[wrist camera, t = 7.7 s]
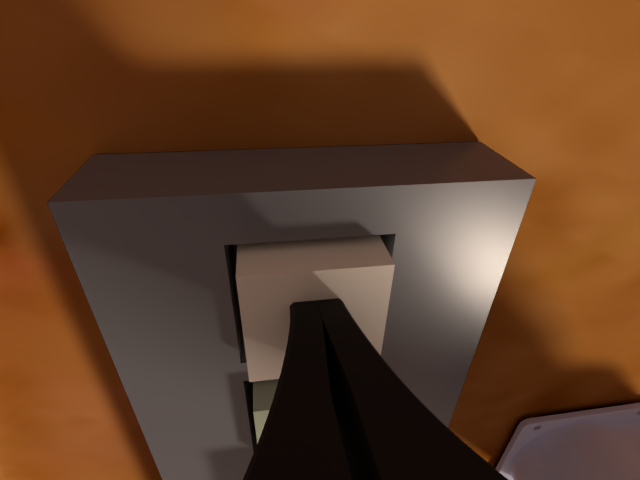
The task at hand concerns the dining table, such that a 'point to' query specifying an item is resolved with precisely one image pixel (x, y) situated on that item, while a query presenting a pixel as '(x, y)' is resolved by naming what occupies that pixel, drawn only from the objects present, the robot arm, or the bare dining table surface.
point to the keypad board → (273, 226)
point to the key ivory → (308, 290)
